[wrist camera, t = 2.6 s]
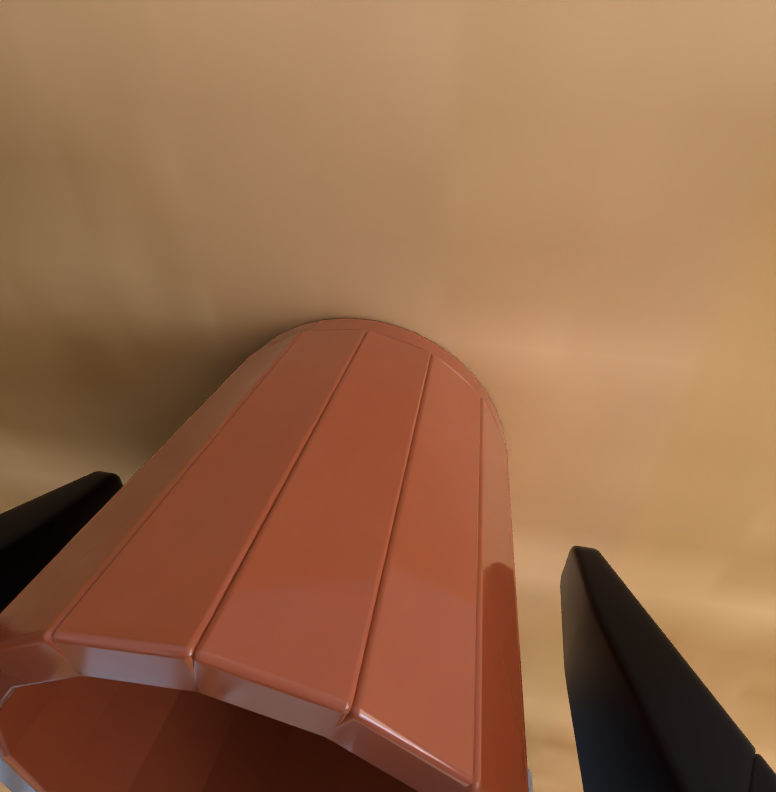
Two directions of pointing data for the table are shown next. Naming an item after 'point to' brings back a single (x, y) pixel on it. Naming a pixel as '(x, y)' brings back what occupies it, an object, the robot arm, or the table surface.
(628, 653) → the robot arm
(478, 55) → the table surface
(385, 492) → the pot
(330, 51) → the table surface
